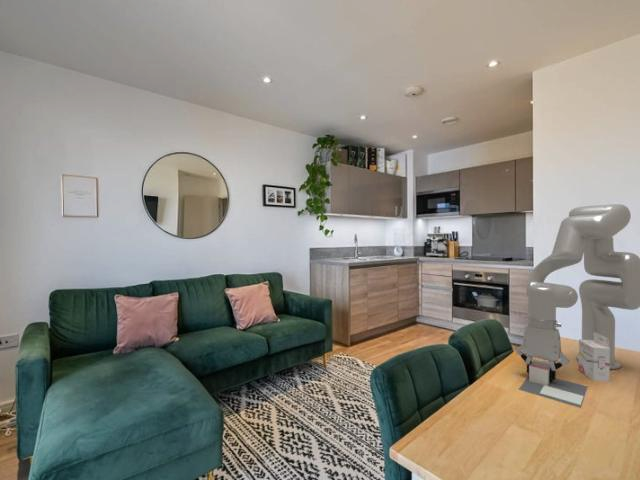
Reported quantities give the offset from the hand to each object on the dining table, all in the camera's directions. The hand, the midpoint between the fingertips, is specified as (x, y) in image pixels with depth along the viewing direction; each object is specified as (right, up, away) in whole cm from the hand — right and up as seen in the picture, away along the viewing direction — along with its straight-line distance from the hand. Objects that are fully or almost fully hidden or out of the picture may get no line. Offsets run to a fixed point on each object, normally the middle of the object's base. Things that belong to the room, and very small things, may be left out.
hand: (540, 377), depth 105 cm
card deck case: (0, -1, 0) cm, 1 cm away
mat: (0, -1, -6) cm, 6 cm away
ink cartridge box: (+20, -2, +3) cm, 20 cm away
